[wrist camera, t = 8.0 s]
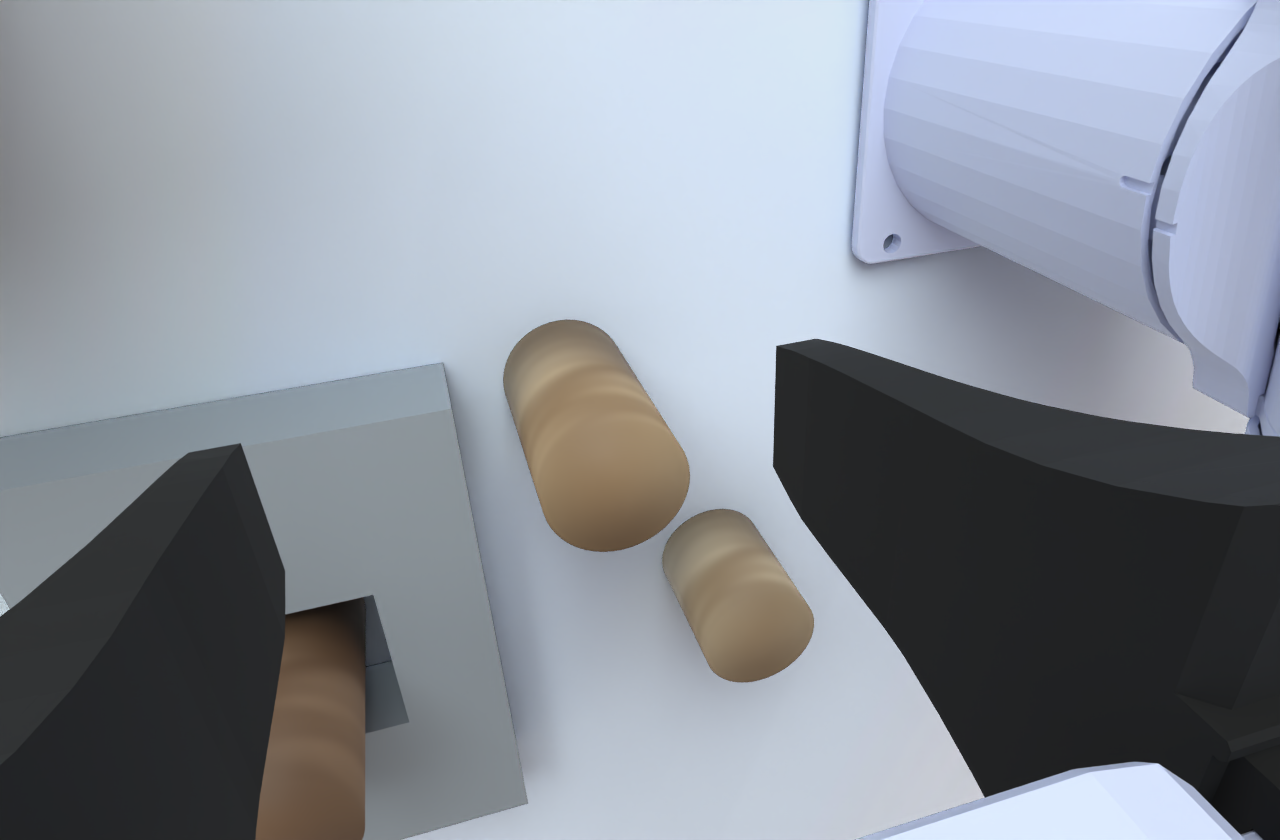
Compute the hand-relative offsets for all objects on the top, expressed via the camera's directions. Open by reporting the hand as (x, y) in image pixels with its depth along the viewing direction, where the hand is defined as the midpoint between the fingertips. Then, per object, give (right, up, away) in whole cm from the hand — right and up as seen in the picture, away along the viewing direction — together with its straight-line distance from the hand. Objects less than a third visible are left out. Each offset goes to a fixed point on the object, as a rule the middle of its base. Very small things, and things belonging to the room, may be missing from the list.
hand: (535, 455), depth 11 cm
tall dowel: (-8, -5, +12) cm, 15 cm away
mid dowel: (-1, +2, +11) cm, 11 cm away
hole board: (-8, -5, +12) cm, 15 cm away
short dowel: (+4, -4, +15) cm, 16 cm away
